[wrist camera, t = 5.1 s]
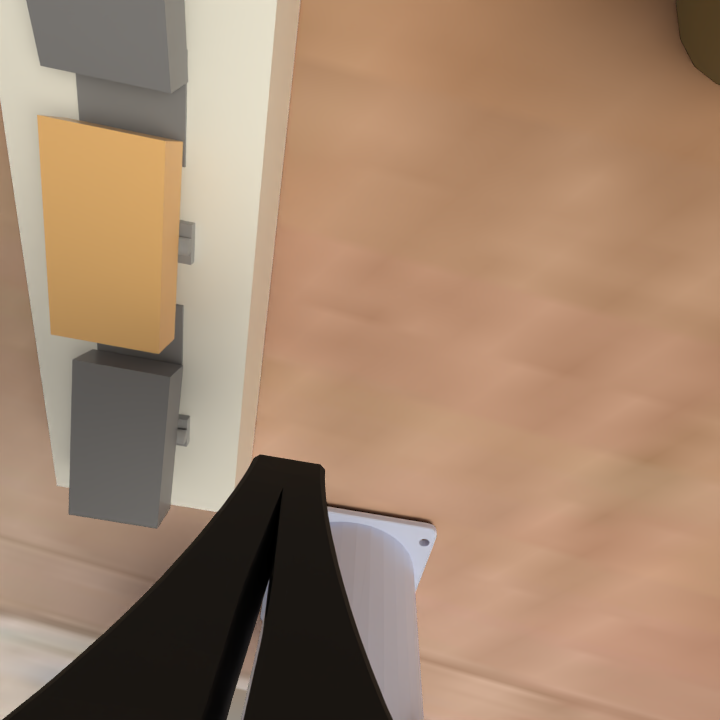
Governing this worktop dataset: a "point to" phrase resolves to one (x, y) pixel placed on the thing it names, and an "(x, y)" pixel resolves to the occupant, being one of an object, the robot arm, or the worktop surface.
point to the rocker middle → (110, 232)
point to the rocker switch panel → (197, 218)
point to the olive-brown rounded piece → (701, 34)
